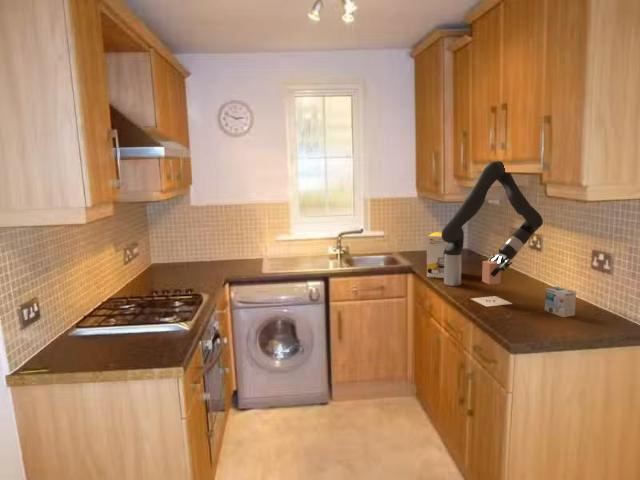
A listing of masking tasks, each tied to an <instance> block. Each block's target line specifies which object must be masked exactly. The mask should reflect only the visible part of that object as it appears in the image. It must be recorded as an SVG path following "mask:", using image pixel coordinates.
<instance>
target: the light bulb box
mask: <svg viewBox="0 0 640 480" xmlns="http://www.w3.org/2000/svg"><path fill="white" fill-rule="evenodd" d="M544 299H545V301H544V312H548V313H550V314H553V315H556V316H559V317H562V318H567V317H573V316H575V315H576V300H577V291H574V290H571V289H567V288H563V287H560V286H557V285H556V286H551V287H546V288H545V298H544Z"/></svg>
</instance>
